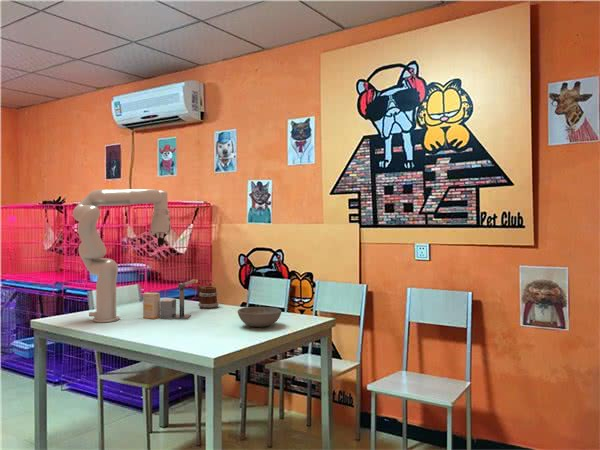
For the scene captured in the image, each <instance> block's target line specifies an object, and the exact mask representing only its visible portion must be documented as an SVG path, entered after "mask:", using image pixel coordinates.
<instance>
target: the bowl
mask: <svg viewBox="0 0 600 450" xmlns="http://www.w3.org/2000/svg"><path fill="white" fill-rule="evenodd" d="M282 313H283V311H282V309H280V308H277V307H268V306H245V307H242V308H241V307H240V308H239V309H238V310H237V314H238V317H239V319H240V321H241V322H243V323H244V324H245V325H247V326H249V327H253V328H254V327H255V328H265V327H269V326H271V325H272V326H273V324H275V323H276V322H277V321H278V320H279V319H280V317H281V315H282Z"/></svg>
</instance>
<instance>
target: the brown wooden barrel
mask: <svg viewBox="0 0 600 450" xmlns="http://www.w3.org/2000/svg"><path fill="white" fill-rule="evenodd" d="M196 293H197V298H198V304H197V305H198V307H199V309H201V310H214V309H218V306H219V301H218V298H217V297H218V294H219V293H218V292H217V287H216V286H202V285H201V284H197V291H196Z"/></svg>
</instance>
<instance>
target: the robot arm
mask: <svg viewBox="0 0 600 450" xmlns="http://www.w3.org/2000/svg"><path fill="white" fill-rule="evenodd" d="M168 202H169V201H168V192H167V191H166V190H158V189H157V188H156V189H154V188H153V189H147V188H145V189H144V188H143V189H133V188H132V189H131V188H117V189H116V188H113V189H111V188H107V189H105V188H103V189H94V190H92V191H91V192H89V193H88V194H87V195H86V196H85V197H84V198H83V199H82V200H81V201H80V202H79V203H78V204H77V205H76V206H75V208H73V211H72V216H73V219H74V220H75V221H77V222H78V226H77V234H78V237H79V239H80V240H81V243H79V246H78V254H79V257H80V258H81V260H82V262H83V265H84V266H85V268H86V270H87V272H89V273H90V274H91V275H93V276H96V277H97V279H96V284H95V285H96V286H95V291H96V292H95V295H96V297H95V298H96V299H95V300H96V304H95V305H96V306H95V307H96V309H95V311H93V312H91V311H90V312H89V313H88V316H89V317H93V319H92V321H93V322H94V323H111V322H117V321H119V320H120V318H121V317H120V316H118V315H117V280H118V279H117V278H118V272H119V266H118V264H117V262H116V261H115V260H114V259H112V258H109V257H108V258H107V257H105V256H106V254H107V247H106V246H105V243H104V242H103V240H102V238H101V236H100V234H99V233H98V229H97V223H98V220H99V219H100V216H101V210H100V209H99V207H107V206H108V207H111V206H116V207H117V206H131V205H133V206H134V205H140V204H148V205H149V204H153V215H152V216H151V221H150V231H151V233H150V234H151V236H154V237H156V238H157V244H158V246H164V243H165V237H167V236H169V235H172V234H171V231H172V225H171V219H170V215H169V214H170V213H171V211H170V210H169V209H168V205H169V204H168Z"/></svg>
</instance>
